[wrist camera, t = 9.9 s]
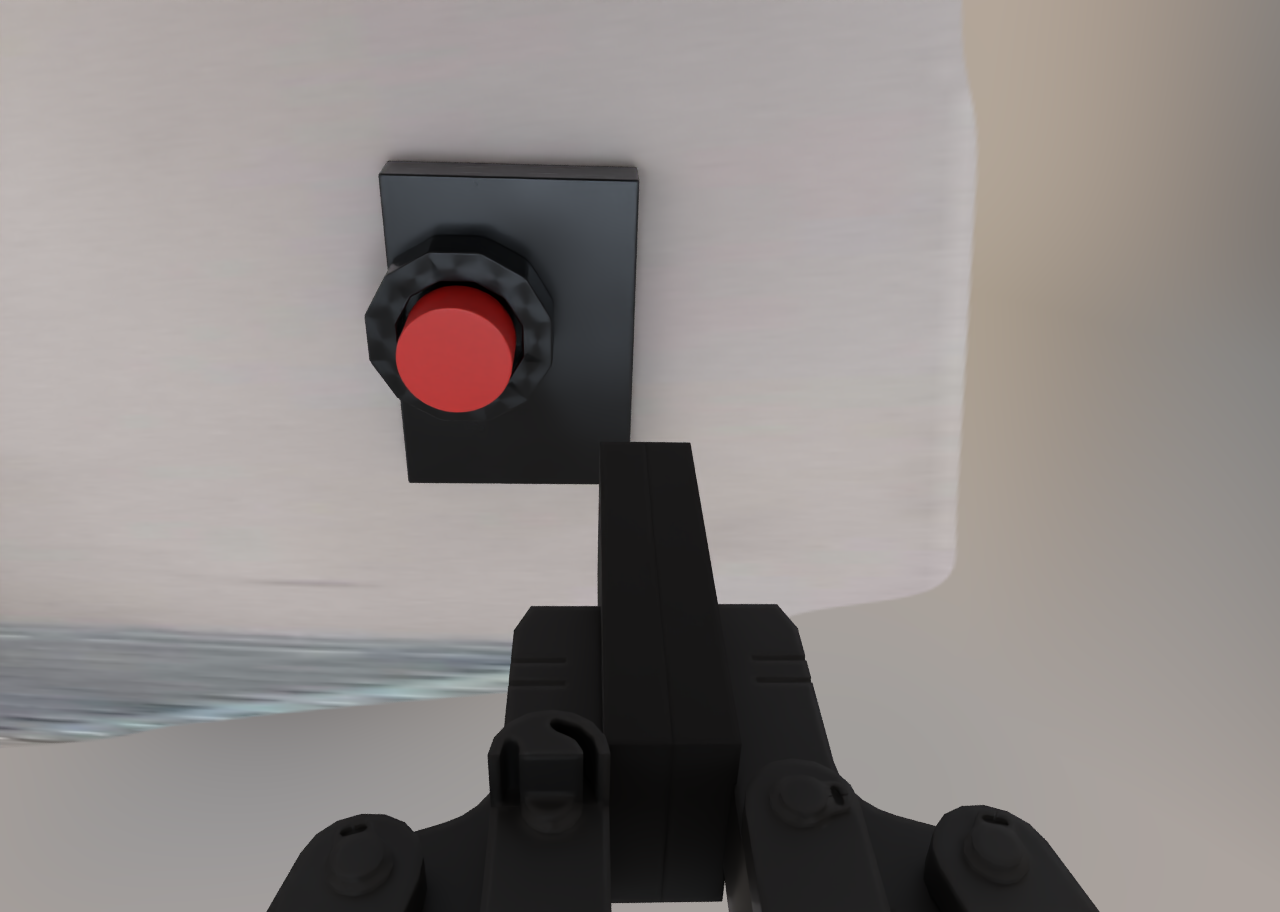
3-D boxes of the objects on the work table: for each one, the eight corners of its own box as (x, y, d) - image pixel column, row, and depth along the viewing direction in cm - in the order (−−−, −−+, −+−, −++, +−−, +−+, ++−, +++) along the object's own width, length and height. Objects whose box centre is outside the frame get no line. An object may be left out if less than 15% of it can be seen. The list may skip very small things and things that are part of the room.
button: (400, 283, 38) (390, 306, 36) (514, 285, 39) (510, 308, 37) (410, 385, 41) (400, 412, 39) (517, 386, 41) (514, 413, 39)
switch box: (370, 159, 40) (349, 187, 36) (637, 166, 40) (641, 195, 37) (400, 460, 47) (385, 508, 43) (626, 462, 47) (630, 509, 44)
